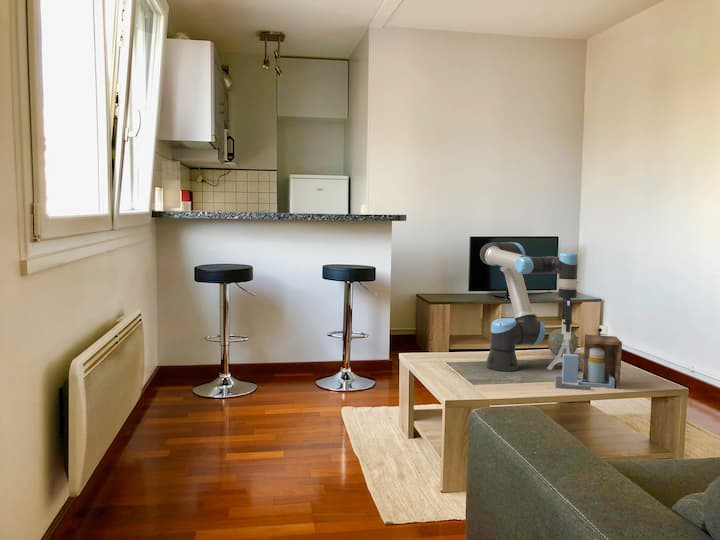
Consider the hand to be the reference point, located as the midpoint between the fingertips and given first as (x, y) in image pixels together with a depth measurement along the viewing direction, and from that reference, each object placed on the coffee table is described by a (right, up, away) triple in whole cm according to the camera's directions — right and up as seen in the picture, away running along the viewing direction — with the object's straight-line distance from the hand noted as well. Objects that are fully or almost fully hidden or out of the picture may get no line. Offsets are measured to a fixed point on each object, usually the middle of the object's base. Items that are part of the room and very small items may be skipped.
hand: (566, 336), depth 258 cm
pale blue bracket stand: (+9, -21, +1) cm, 23 cm away
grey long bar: (0, -21, -7) cm, 22 cm away
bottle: (+14, -21, +1) cm, 25 cm away
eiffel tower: (+9, -19, +25) cm, 32 cm away
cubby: (+15, -21, 0) cm, 26 cm away
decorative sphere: (+15, -16, +50) cm, 55 cm away
